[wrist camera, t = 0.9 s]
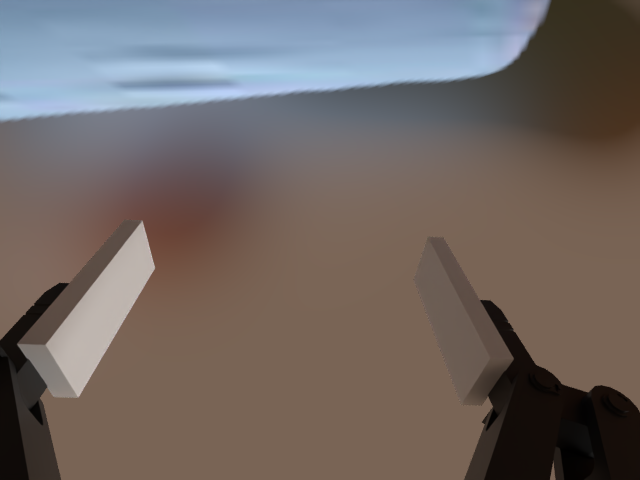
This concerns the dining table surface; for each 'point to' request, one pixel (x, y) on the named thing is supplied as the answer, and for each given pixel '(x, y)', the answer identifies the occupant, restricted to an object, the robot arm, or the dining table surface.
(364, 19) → the dining table surface
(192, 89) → the dining table surface
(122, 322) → the robot arm
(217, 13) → the dining table surface
